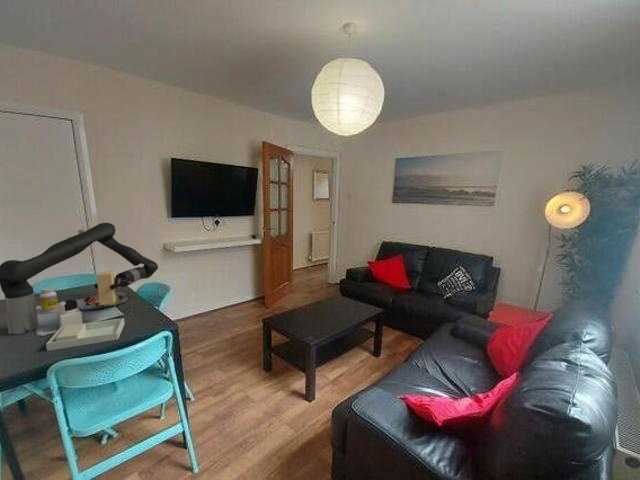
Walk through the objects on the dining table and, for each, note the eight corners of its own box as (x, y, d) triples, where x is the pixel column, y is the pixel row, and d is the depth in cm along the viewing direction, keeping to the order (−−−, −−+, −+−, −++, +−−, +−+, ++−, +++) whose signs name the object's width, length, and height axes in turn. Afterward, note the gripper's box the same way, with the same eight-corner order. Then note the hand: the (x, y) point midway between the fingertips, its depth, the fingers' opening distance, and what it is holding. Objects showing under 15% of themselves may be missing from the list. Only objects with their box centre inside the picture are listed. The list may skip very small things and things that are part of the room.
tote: (47, 353, 118) (46, 343, 117) (62, 334, 132) (61, 326, 131) (118, 341, 128) (117, 333, 127) (124, 325, 142) (123, 318, 141)
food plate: (77, 300, 171) (76, 294, 170) (124, 292, 186) (123, 287, 185) (78, 316, 152) (77, 309, 152) (130, 306, 167) (130, 300, 167)
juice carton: (99, 305, 139) (96, 275, 137) (102, 301, 144) (99, 272, 142) (113, 303, 142) (110, 274, 139) (115, 299, 147) (113, 271, 144)
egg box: (56, 347, 120) (55, 338, 120) (67, 333, 131) (66, 325, 130) (78, 343, 123) (76, 335, 122) (86, 331, 134) (85, 323, 133)
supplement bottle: (48, 314, 152) (44, 291, 150) (38, 312, 153) (34, 289, 151) (61, 309, 158) (58, 286, 156) (52, 308, 160) (49, 285, 158)
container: (79, 321, 145) (76, 297, 142) (83, 326, 140) (80, 301, 138) (58, 327, 139) (55, 301, 137) (62, 332, 134) (58, 306, 132)
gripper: (115, 269, 156) (88, 278, 140) (140, 271, 154) (116, 280, 138) (116, 283, 157) (90, 293, 141) (141, 284, 156) (117, 295, 140)
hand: (103, 287), depth 140 cm, fingers closed on juice carton, 7 cm apart
